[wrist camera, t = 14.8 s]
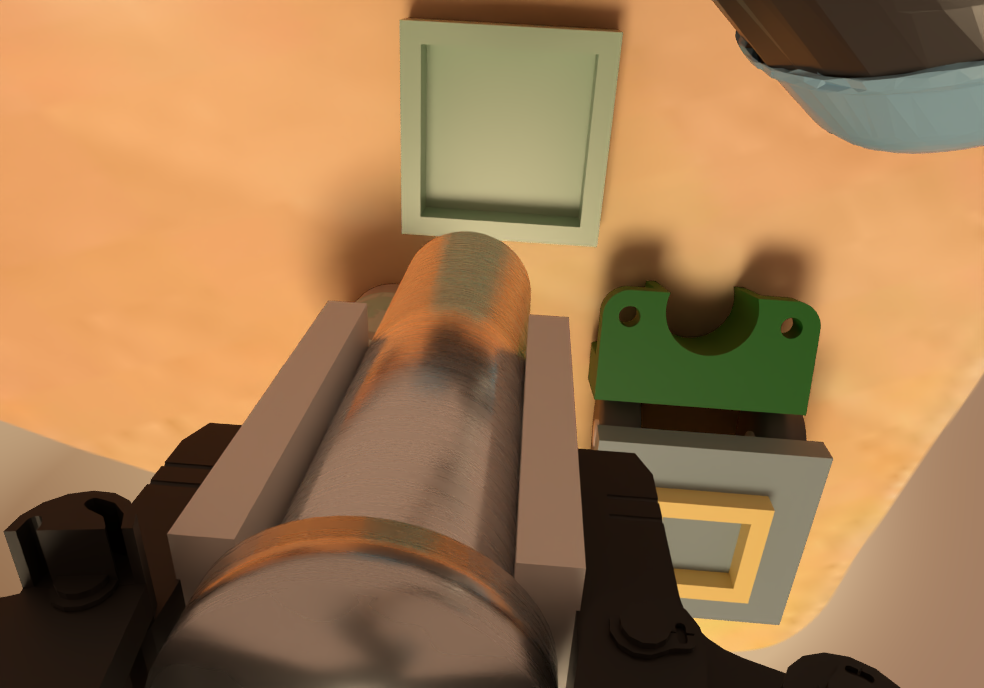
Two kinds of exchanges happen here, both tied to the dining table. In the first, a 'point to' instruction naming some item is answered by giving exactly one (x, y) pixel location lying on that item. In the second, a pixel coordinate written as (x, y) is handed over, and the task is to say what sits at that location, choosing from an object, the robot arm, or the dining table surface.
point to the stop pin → (394, 513)
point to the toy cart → (728, 505)
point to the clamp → (706, 354)
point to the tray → (506, 128)
